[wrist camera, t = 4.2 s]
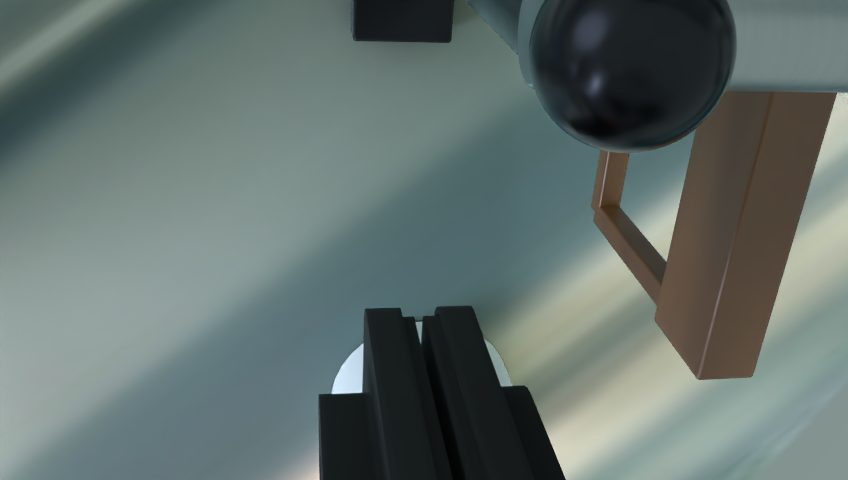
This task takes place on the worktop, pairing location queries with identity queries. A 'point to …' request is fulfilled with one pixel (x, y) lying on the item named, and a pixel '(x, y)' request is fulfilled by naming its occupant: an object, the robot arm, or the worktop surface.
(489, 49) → the worktop surface
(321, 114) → the worktop surface
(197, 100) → the worktop surface
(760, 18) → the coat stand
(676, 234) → the brown clothes hanger
